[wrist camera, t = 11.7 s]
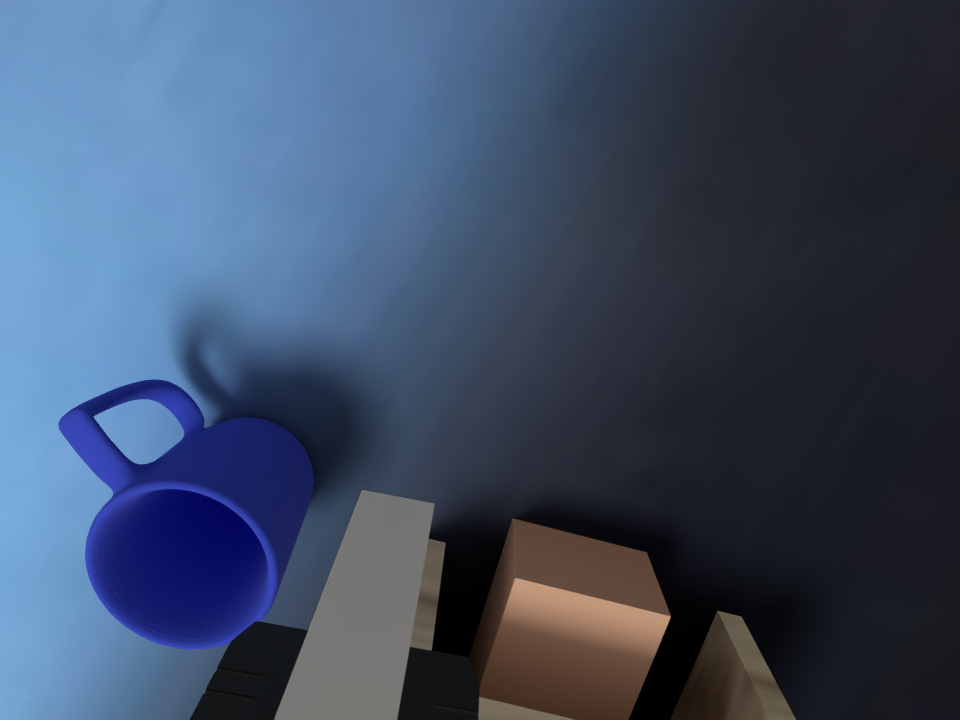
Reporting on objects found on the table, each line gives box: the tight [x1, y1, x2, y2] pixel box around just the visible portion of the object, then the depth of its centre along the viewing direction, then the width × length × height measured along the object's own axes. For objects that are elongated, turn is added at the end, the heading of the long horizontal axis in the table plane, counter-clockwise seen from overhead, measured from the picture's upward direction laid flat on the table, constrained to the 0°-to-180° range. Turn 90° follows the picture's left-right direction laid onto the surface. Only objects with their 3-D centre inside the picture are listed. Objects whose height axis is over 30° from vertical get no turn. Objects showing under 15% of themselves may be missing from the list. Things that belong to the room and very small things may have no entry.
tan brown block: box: [468, 519, 671, 720], centre depth 39 cm, size 12×8×6 cm, turn 165°
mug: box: [58, 380, 314, 649], centre depth 34 cm, size 8×12×10 cm
